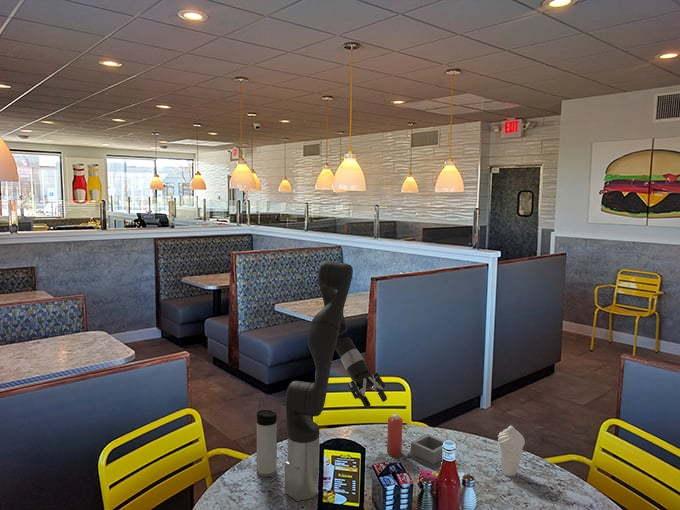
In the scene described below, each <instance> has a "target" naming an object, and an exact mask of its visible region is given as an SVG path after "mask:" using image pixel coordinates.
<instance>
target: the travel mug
mask: <svg viewBox="0 0 680 510" xmlns="http://www.w3.org/2000/svg"><path fill="white" fill-rule="evenodd" d="M277 415H278V414H277V412H275V411H272V410H270V409H269V410H268V409H263V410H262V409H261V410H258V411H257V412H256V474H257V475H258V476H259V477H263V478H267V477H272V476H274V475H275V474H276V473H277V470H278V469H277V468H278V466H277V462H278V459H277V457H278V456H277V454H278V453H277V452H278V451H277V450H278V447H277V446H278V441H277V440H278V438H277V437H278V432H277V431H278V427H277V425H278V421H277V419H278V416H277Z"/></svg>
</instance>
